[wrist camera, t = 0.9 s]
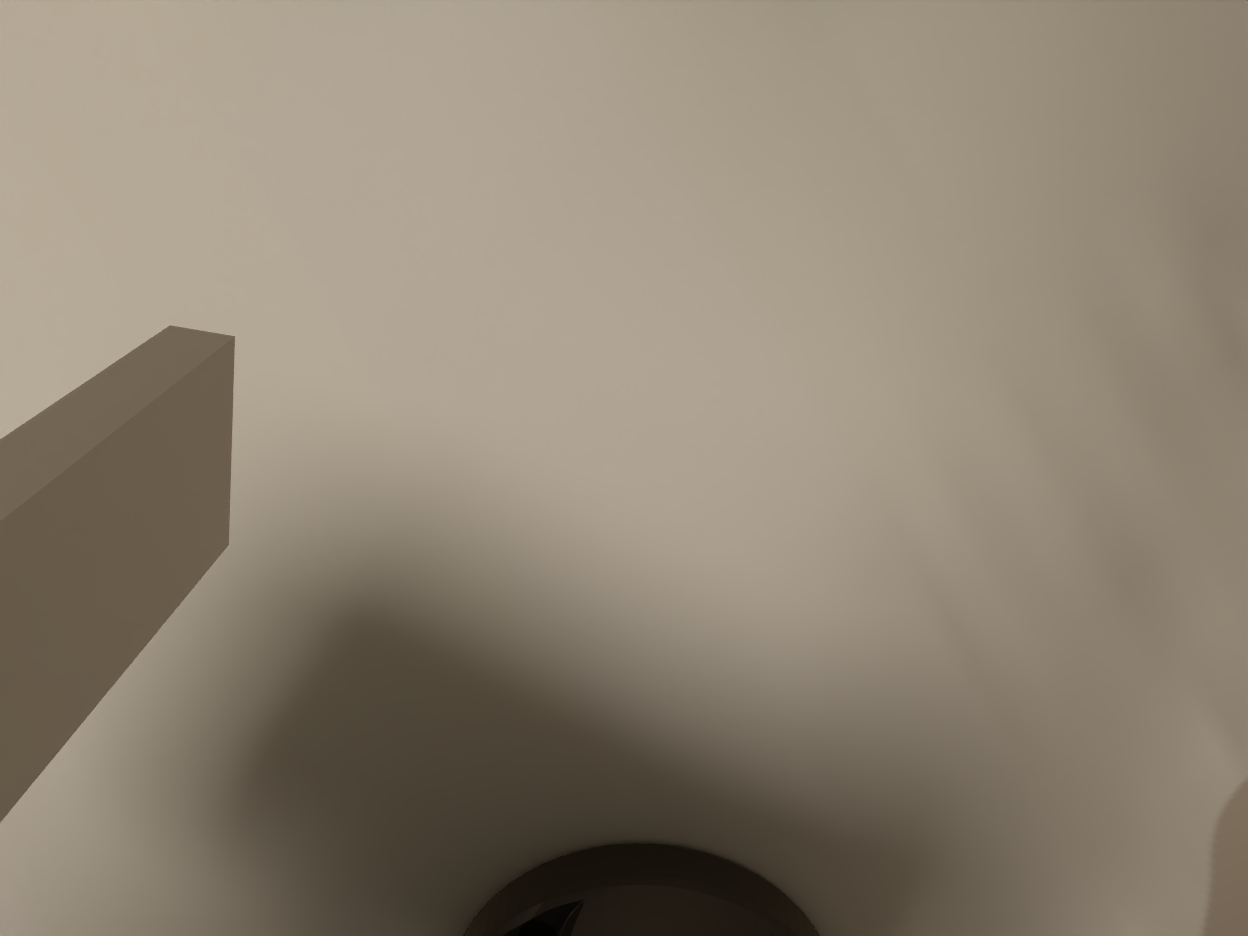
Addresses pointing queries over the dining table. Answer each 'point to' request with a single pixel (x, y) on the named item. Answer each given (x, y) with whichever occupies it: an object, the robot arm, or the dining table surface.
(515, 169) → the dining table surface
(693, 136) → the dining table surface
